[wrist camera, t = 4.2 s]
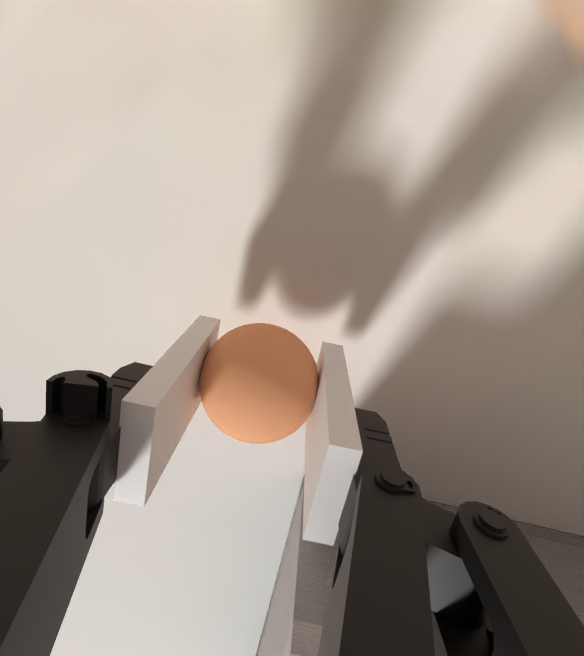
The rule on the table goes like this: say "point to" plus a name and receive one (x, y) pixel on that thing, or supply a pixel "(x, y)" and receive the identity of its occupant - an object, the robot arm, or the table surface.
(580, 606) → the open square box
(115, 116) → the table surface
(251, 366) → the ball
